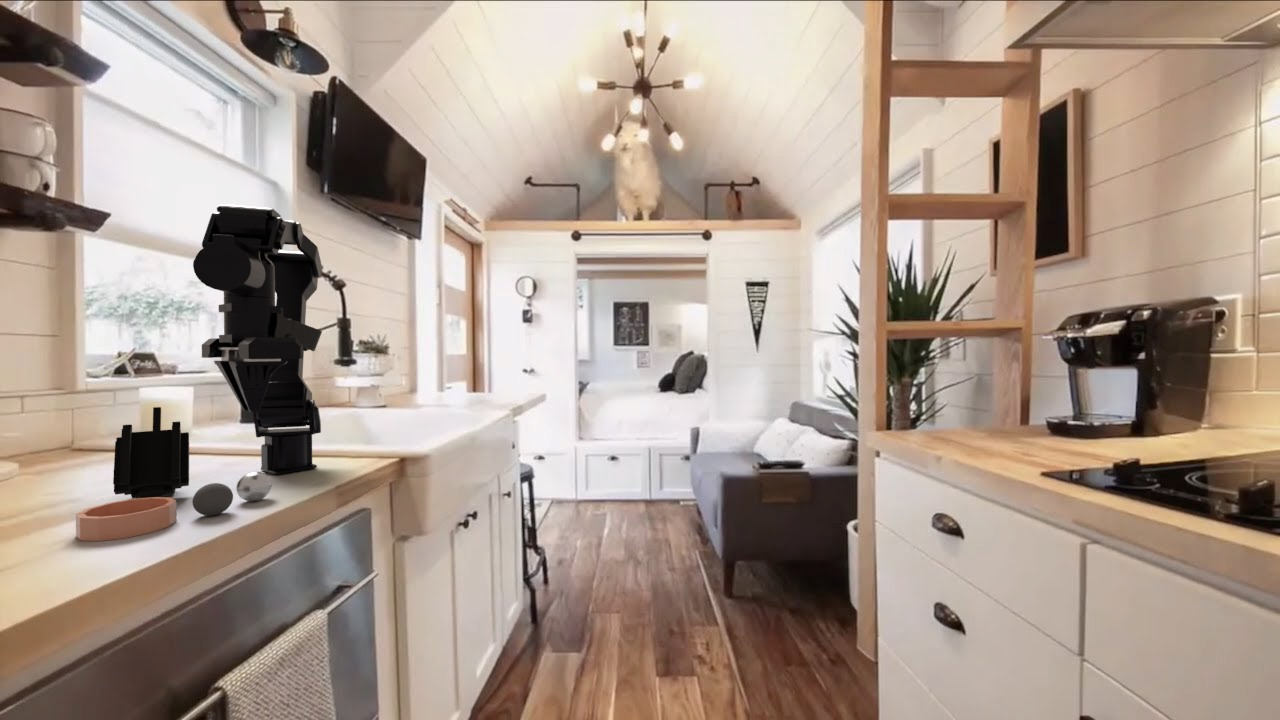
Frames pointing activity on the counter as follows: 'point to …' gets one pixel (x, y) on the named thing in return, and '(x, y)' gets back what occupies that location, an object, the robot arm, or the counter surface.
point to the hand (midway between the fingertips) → (251, 410)
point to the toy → (151, 460)
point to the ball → (212, 499)
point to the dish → (125, 518)
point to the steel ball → (254, 486)
